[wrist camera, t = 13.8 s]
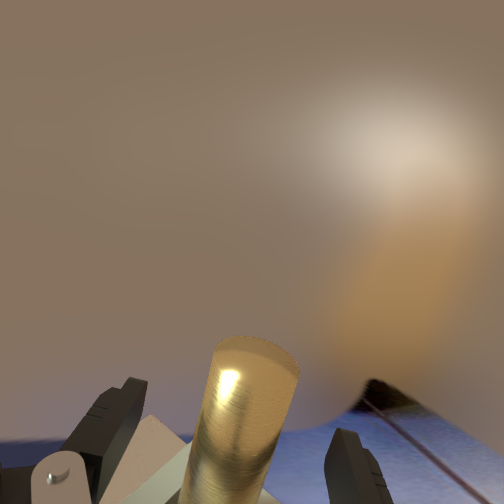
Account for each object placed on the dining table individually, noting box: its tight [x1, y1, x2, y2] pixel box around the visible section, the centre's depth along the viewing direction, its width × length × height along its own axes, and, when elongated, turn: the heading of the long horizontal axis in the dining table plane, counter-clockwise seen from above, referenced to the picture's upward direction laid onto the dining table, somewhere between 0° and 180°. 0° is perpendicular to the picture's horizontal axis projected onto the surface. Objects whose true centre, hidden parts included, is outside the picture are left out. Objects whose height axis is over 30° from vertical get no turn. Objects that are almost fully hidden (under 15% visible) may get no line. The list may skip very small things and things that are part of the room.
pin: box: [177, 336, 299, 504], centre depth 13 cm, size 3×3×12 cm
